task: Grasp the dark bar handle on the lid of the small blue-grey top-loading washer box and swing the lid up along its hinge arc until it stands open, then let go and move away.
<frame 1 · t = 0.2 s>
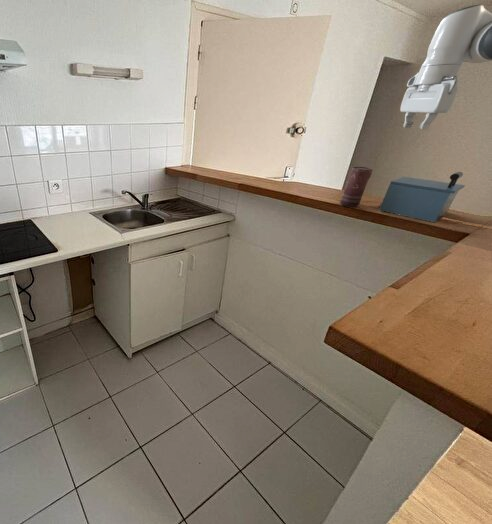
hand: (414, 128, 91), 27 cm above the worktop, tool pointing down, fingers open, 8 cm apart
can: (349, 205, 110), on the worktop
washer lid: (429, 177, 95), point 12 cm above the worktop, hinge at 0.0°
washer: (411, 212, 101), on the worktop
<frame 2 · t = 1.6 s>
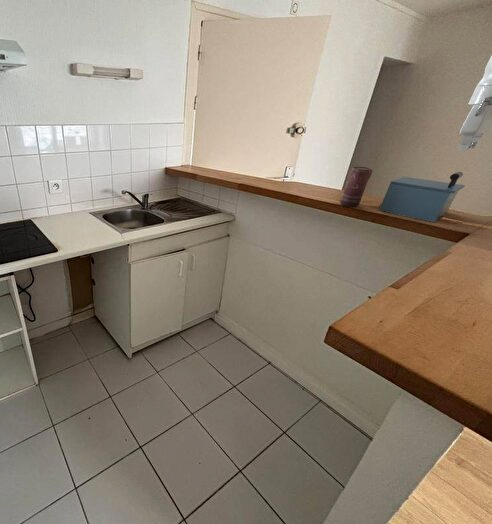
hand: (466, 149, 87), 22 cm above the worktop, tool pointing down, fingers open, 8 cm apart
nothing on the worktop moved.
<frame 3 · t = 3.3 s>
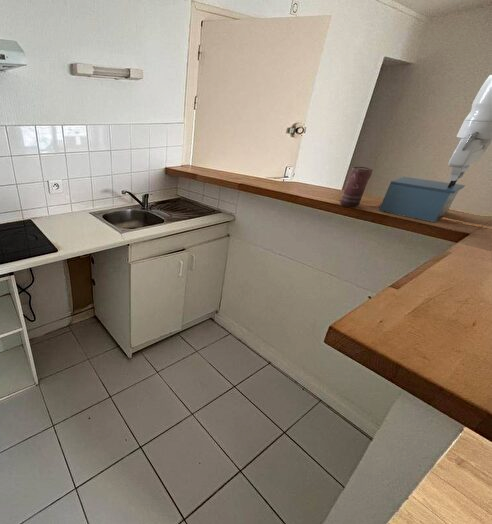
hand: (455, 178, 90), 13 cm above the worktop, tool pointing down, fingers closed on washer lid, 5 cm apart
washer lid: (429, 177, 95), point 12 cm above the worktop, hinge at 0.0°, touching gripper
everything else where it was.
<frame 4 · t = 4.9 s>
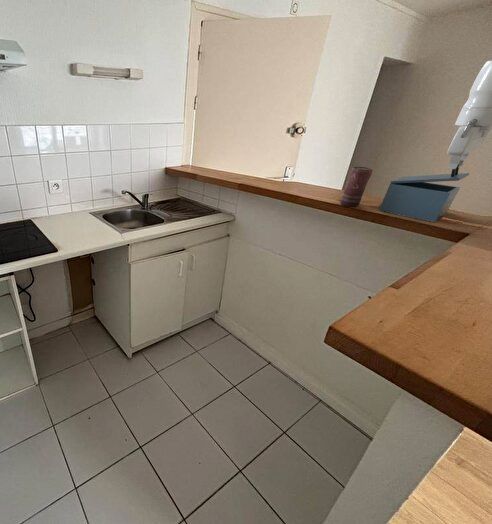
hand: (454, 167, 90), 16 cm above the worktop, tool pointing down, fingers closed on washer lid, 5 cm apart
washer lid: (429, 171, 95), point 14 cm above the worktop, hinge at 13.8°, touching gripper
everything else where it was.
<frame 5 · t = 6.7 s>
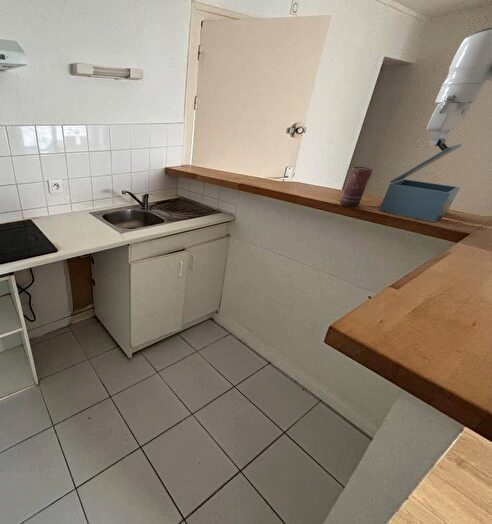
hand: (435, 145, 92), 23 cm above the worktop, tool pointing down, fingers closed on washer lid, 5 cm apart
washer lid: (420, 159, 96), point 18 cm above the worktop, hinge at 49.0°, touching gripper
everything else where it was.
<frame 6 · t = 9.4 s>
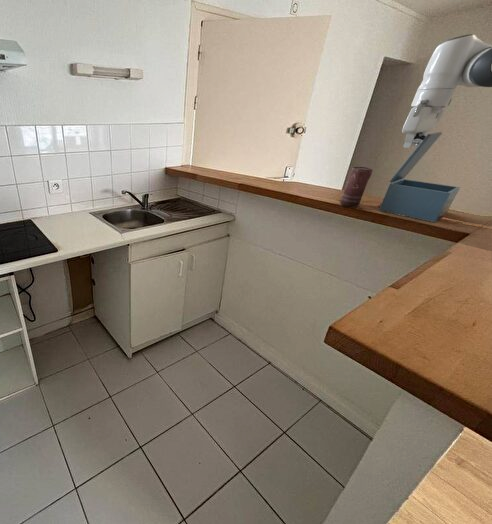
hand: (411, 146, 96), 22 cm above the worktop, tool pointing down, fingers open, 7 cm apart
washer lid: (408, 155, 98), point 19 cm above the worktop, hinge at 73.5°
everything else where it was.
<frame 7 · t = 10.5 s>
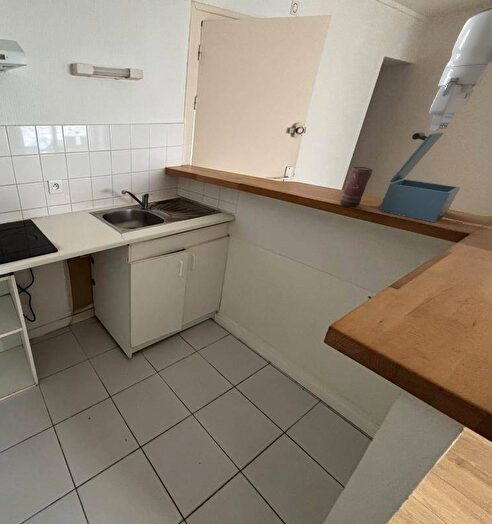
hand: (438, 129, 90), 27 cm above the worktop, tool pointing down, fingers open, 8 cm apart
washer lid: (409, 155, 97), point 19 cm above the worktop, hinge at 72.4°
everything else where it was.
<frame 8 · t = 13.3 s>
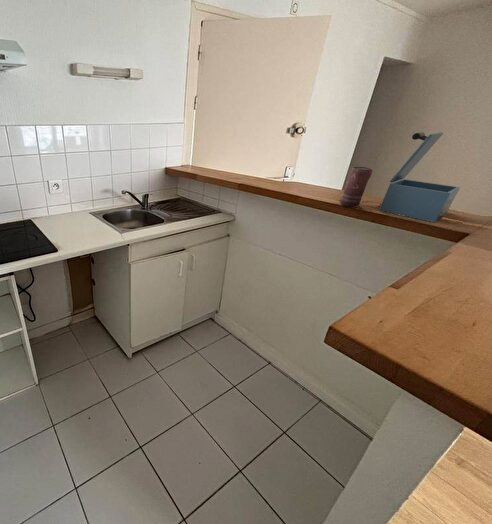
nothing on the worktop moved.
at the end: washer lid at +72° (first picture: +0°); the gripper is holding nothing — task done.
